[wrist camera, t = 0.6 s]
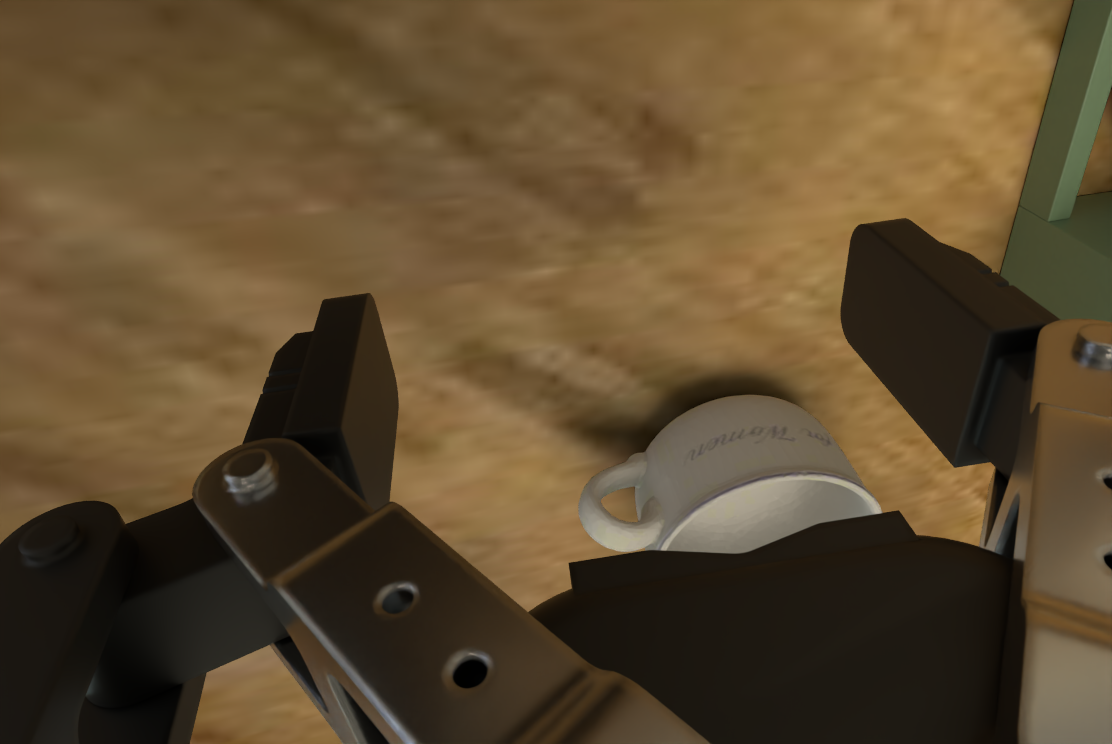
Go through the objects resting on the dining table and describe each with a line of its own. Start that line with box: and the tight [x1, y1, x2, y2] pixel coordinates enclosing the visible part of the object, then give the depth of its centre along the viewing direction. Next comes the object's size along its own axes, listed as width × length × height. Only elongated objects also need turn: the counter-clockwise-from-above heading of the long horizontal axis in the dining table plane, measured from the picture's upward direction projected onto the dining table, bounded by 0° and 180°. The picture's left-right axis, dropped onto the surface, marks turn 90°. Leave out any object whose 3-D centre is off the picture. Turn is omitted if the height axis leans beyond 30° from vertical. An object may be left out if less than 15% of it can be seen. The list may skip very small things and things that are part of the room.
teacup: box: [579, 395, 883, 554], centre depth 36 cm, size 14×11×8 cm
